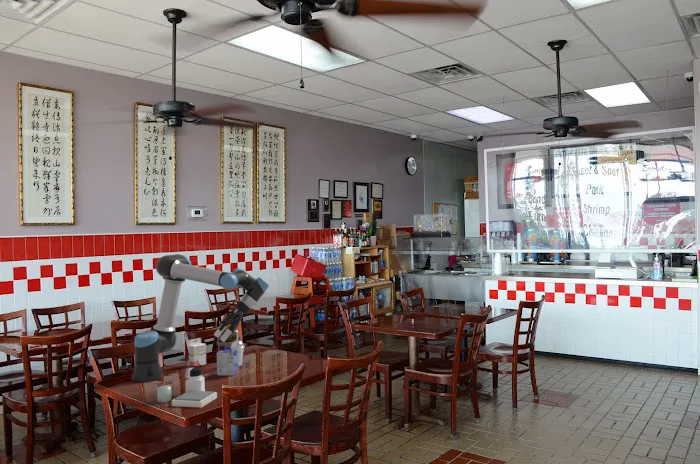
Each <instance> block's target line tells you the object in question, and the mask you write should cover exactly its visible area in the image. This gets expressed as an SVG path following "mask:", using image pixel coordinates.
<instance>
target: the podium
mask: <svg viewBox="0 0 700 464" xmlns="http://www.w3.org/2000/svg"><path fill="white" fill-rule="evenodd" d="M217 398H218V393H217V392H216V391H211V390H210V391H207V390H205V391H188V392H186V391H185V392H184V393H182V394H181V395H178V396H177V397H175V398H173V399H172V400H171V407H186V408H201V409H202V408H203V407H204V406H206V405H208V404H210V403H211V402H212V401H214V400H216V399H217Z"/></svg>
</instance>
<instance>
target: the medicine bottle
mask: <svg viewBox="0 0 700 464" xmlns="http://www.w3.org/2000/svg"><path fill="white" fill-rule="evenodd" d="M187 377H188V378H186V380H185V382H184V383H185V393H186V392H188V391H206V388H205V387H206V386H205V385H206V383H205V382H206V381H205V376H203V373H202V368H201V367H200V366H196V367H190V368H189V369H188V370H187Z"/></svg>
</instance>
